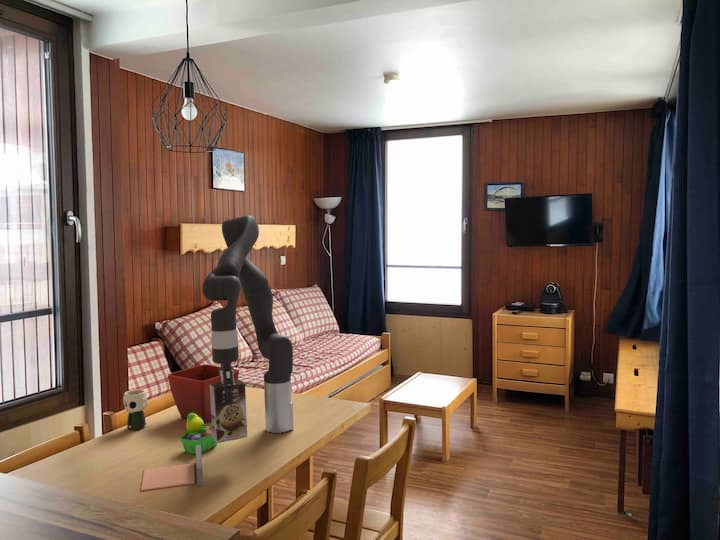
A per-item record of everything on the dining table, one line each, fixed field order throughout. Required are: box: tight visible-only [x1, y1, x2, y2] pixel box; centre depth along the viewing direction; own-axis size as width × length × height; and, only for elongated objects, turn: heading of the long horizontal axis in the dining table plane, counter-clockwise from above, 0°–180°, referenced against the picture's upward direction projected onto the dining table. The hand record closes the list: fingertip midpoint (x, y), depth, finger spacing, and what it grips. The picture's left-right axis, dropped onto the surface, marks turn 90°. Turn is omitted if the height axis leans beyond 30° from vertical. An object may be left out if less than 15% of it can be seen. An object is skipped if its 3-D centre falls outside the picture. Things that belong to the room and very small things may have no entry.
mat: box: [140, 462, 196, 492], centre depth 170 cm, size 14×14×1 cm
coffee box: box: [210, 378, 248, 444], centre depth 173 cm, size 9×6×16 cm
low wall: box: [195, 445, 204, 487], centre depth 172 cm, size 2×18×5 cm, turn 16°
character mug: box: [122, 389, 149, 430], centre depth 212 cm, size 11×7×13 cm, turn 66°
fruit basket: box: [179, 413, 218, 456], centre depth 191 cm, size 11×9×11 cm
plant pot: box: [167, 364, 240, 424], centre depth 223 cm, size 19×19×17 cm
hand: (228, 400), depth 173 cm, fingers closed on coffee box, 7 cm apart
